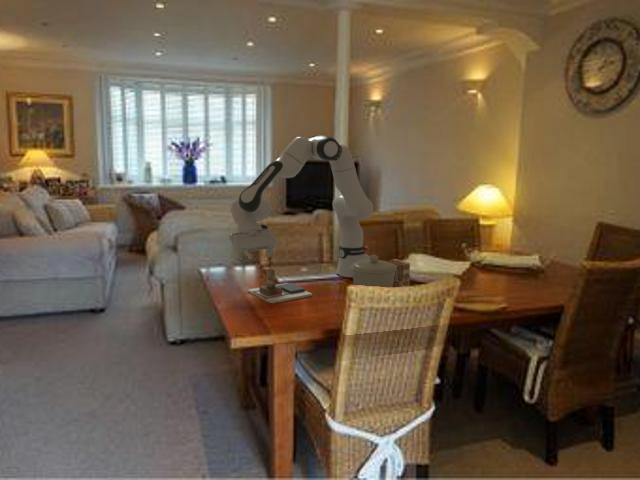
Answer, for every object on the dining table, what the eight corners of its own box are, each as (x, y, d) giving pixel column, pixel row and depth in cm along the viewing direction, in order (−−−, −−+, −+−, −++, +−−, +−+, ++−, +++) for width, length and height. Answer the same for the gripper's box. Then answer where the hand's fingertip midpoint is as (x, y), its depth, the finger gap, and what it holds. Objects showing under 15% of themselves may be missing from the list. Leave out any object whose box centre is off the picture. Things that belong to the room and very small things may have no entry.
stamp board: (286, 285, 240) (286, 280, 239) (311, 295, 224) (312, 290, 223) (247, 291, 228) (247, 286, 228) (270, 303, 212) (270, 298, 212)
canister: (345, 311, 204) (346, 258, 200) (354, 298, 221) (356, 249, 218) (391, 316, 200) (394, 261, 196) (397, 302, 217) (400, 252, 213)
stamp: (273, 289, 228) (273, 267, 226) (282, 293, 223) (282, 270, 221) (259, 292, 224) (259, 269, 222) (267, 296, 219) (267, 273, 217)
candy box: (409, 298, 223) (410, 262, 220) (401, 299, 221) (403, 263, 218) (395, 292, 230) (396, 258, 227) (387, 294, 228) (389, 259, 225)
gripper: (230, 229, 225) (241, 256, 219) (272, 225, 237) (283, 250, 231) (226, 238, 229) (236, 264, 224) (267, 233, 241) (278, 258, 235)
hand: (261, 257), depth 227 cm, fingers open, 8 cm apart
